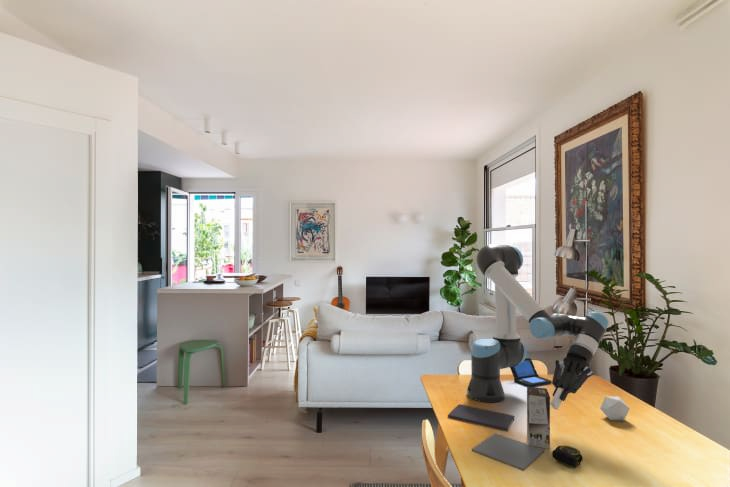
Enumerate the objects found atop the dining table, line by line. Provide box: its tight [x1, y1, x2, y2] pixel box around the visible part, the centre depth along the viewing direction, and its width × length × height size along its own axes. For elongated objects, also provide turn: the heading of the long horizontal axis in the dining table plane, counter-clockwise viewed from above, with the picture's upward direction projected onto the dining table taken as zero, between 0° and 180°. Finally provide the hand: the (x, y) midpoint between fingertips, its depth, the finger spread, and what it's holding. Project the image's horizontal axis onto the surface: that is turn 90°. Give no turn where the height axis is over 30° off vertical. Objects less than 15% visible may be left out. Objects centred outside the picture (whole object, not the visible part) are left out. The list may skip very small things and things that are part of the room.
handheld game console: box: [509, 357, 552, 387], centre depth 192 cm, size 16×13×9 cm
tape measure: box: [551, 445, 583, 469], centre depth 117 cm, size 7×7×4 cm
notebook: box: [447, 403, 515, 432], centre depth 148 cm, size 13×2×21 cm
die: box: [599, 396, 631, 421], centre depth 149 cm, size 8×9×10 cm
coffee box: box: [526, 386, 551, 450], centre depth 130 cm, size 9×6×16 cm
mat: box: [471, 433, 545, 472], centre depth 123 cm, size 16×16×1 cm
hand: (553, 406), depth 133 cm, fingers closed
